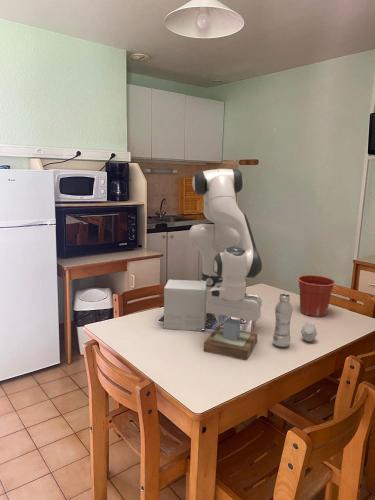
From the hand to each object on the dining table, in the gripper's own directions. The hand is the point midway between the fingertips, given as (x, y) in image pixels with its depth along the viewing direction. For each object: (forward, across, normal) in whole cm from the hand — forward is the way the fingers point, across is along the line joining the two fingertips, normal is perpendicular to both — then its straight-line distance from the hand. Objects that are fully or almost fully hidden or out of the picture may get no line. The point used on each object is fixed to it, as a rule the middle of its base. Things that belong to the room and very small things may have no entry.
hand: (232, 327), depth 141 cm
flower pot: (+8, -25, -51) cm, 57 cm away
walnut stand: (+8, 0, 0) cm, 8 cm away
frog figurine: (+8, -26, -18) cm, 33 cm away
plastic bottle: (+8, -17, -9) cm, 21 cm away
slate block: (+4, 0, 0) cm, 4 cm away
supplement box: (+8, +24, -12) cm, 28 cm away
